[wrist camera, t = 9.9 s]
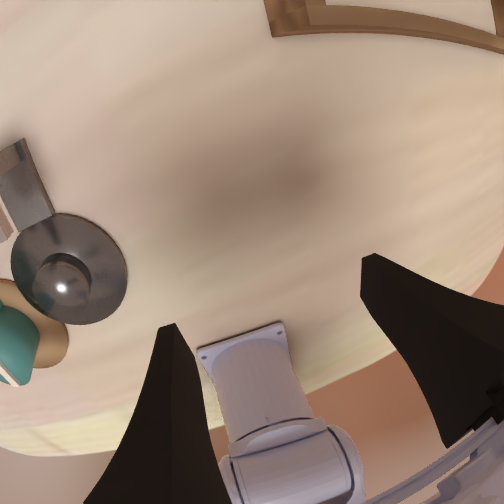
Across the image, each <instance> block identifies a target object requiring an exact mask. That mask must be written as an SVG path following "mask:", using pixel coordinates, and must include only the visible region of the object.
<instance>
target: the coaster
mask: <svg viewBox="0 0 504 504" xmlns="http://www.w3.org/2000/svg"><path fill="white" fill-rule="evenodd" d="M22 294H23V293H22ZM22 294H21V292H20V290H19V289H18V288H17V285H16V283H15V282H13V281H9V280H3V279H0V300H1V301H2V303H3V305H5V306H10V307H13V308H15V309H18V310H19V311H21V312H23V313H24V314H25V315H27V316H28V317H29V318H30V319H31V320H32V321H33V322H34V324H35V325H36V327H37V329H38V331H39V334H40V342H39V345H38V349H37V353H36V357H35V361H34V365H33V368H48V367H52V366H54V365H56V364H58V363H59V362H61V361H62V359H63V358H64V357H65V355H66V352H67V347H68V333H67V329H66V327H65V324H64V323H62V322H59V321H56V320H54V319H51V318H49V317H47V316H45V315H43V314H42V313H40V312H39V311H37V310H36V309H35V308H34V307H32V306H31V305H30V304H29V303H28V302H27V301H26V299H25V298H24V297H23V295H22ZM27 295H28V294H27ZM29 297H30V296H29ZM30 298H31V297H30ZM31 299H33V298H31ZM35 302H36V303H37V301H35V300H34V303H35ZM37 304H38V303H37ZM39 306H40V305H39ZM43 311H44V310H43ZM45 312H46V311H45ZM46 313H47V312H46ZM51 317H52V316H51ZM53 318H54V317H53Z"/></svg>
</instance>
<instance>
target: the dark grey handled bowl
mask: <svg viewBox="0 0 504 504" xmlns="http://www.w3.org/2000/svg"><path fill="white" fill-rule="evenodd" d="M0 195H1V198H2V200H3V202H4V204H5V206H6V208H7V210H8V212H9V214H10V216H11V218H12V220H13V222H14V224H15V226H16V228H17V230H18V232H20V231H22V232H21V233H20V234H19V236H18V237H17V239H16V241H15V243H14V246H13V248H12V253H11V270H12V275H13V278H14V281H15V283H16V285H17V288H18V289H19V290H20V292H21V294H22V293H23V294H22V295H23V297H24V298H25V299H26V301H27V302H28V303H29V304H30V305H31V306H32V307H34V308H35V309H36V310H37V311H39V312H40V313H42V314H43V315H45V316H47V317H49V318H51V319H54V320H56V321H59V322H62V323H66V324H73V325H85V324H92V323H96V322H98V321H101V320H103V319H105V318H107V317H108V316H110V315H111V314H113V313H114V312H115V311H116V310H117V308H118V307H119V306H120V304H121V302H122V300H123V298H124V295H125V292H126V286H127V269H126V265H125V261H124V258H123V256H122V254H121V252H120V250H119V248H118V246H117V245H116V244H115V242H114V241H113V240H112V238H111V237H110V236H109V235H108V234H107V233H106V232H104V231H103V230H102V229H101V228H100V227H98V226H96V225H95V224H93V223H92V222H90V221H88V220H86V219H83V218H81V217H78V216H74V215H69V214H53V213H54V212H55V211H54V209H53V207H52V205H51V202H50V200H49V198H48V196H47V194H46V192H45V189H44V187H43V185H42V182H41V180H40V178H39V175H38V173H37V171H36V168H35V166H34V163H33V161H32V158H31V156H30V153H29V150H28V148H27V145H26V142H25V139H24V138H23V139H21V140H20V141H18V142H16V143H14V144H13V145H11V146H9V147H7V148H5V149H4V150H2V151H0ZM13 232H14V231H13V229H12V227H11V225H10V223H9V222H8V220H7V218H6V216H5V214H4V212H3V210H2V207H1V205H0V243H2V242H4V241H6V240H8V238H9V237H10V236H11V234H12V233H13ZM27 294H28V295H27ZM29 296H30V297H31V298H33V299H31V298H30V297H29ZM34 300H35V301H37V303H38V304H37V303H36V302H35V303H34ZM39 305H40V306H39ZM43 310H44V311H43ZM45 311H46V312H47V313H46V312H45ZM51 316H52V317H51ZM53 317H54V318H53Z"/></svg>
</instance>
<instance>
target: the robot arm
mask: <svg viewBox="0 0 504 504" xmlns="http://www.w3.org/2000/svg"><path fill="white" fill-rule="evenodd" d="M360 297H361V299H362V301H363V302H364V304H365V306H366V308H367V309H368V311H369V313H370V314H371V316H372V317H373V319H374V320H375V321H376V323H377V324H378V325H379V327H380V328H381V329H382V331H383V332H384V333H385V334H386V336H387V337H388V338H389V340H390V341H391V342H392V344H393V345H394V346H395V348H396V349H397V350H398V351H399V353H400V354H401V355H402V357H403V358H404V360H405V361H406V363H407V364H408V366H409V368H410V370H411V372H412V373H413V375H414V377H415V379H416V380H417V382H418V384H419V386H420V388H421V390H422V392H423V394H424V396H425V398H426V401H427V403H428V405H429V407H430V409H431V412H432V414H433V417H434V419H435V422H436V425H437V428H438V430H439V433H440V436H441V439H442V442H443V443H444V445H445V447H446V448H449V447H450V446H452V445H453V444H454V443H456V442H457V441H458V440H460V439H461V438H462V437H464V436H465V435H466V434H467V433H469V432H470V431H471V430H472V429H473V430H474V431H475V432H474V433H472V434H471V435H470V436H469V437H467V438H466V439H465V440H464V441H462V442H461V443H460V444H458V445H457V446H456V447H455V448H453V449H452V450H450V451H449V452H448V453H446V454H445V455H444V456H442V457H441V458H439V459H438V460H437V461H435V462H433V463H432V464H431V465H429V466H427V467H426V468H424V469H423V470H421V471H420V472H418V473H416V474H415V475H413V476H411V477H410V478H408V479H406V480H405V481H403V482H401V483H400V484H398V485H396V486H394V487H392V488H390V489H389V490H387V491H385V492H383V493H381V494H379V495H377V496H375V497H373V498H371V499H369V500H367V501H365V497H366V494H365V490H364V485H363V465H362V461H361V457H360V455H359V452H358V450H357V448H356V445H355V444H354V442H353V440H352V439H351V437H350V436H349V434H348V433H347V432H346V431H345V430H343V429H341V428H339V427H338V426H336V425H334V424H331V425H327V426H326V424H325V422H324V420H323V418H322V417H318V418H315V416H314V414H313V411H312V409H311V407H310V405H309V403H308V401H307V398H306V396H305V394H304V392H303V390H302V388H301V385H300V383H299V381H298V379H297V377H296V374H295V372H294V370H293V368H292V365H291V360H290V354H289V349H288V344H287V339H286V334H285V328H284V326H283V324H282V323H275V324H272V325H270V326H267V327H264V328H261V329H258V330H255V331H252V332H249V333H246V334H243V335H240V336H237V337H234V338H231V339H228V340H225V341H222V342H219V343H216V344H212V345H209V346H206V347H203V348H200V349H198V350H197V351H196V354H197V357H198V358H199V360H200V362H201V363H202V365H203V367H204V368H205V370H206V372H207V373H208V375H209V377H210V378H211V380H212V381H213V383H214V385H215V388H216V392H217V396H218V400H219V404H220V408H221V412H222V416H223V419H224V423H225V427H226V431H227V434H228V438H229V442H230V443H229V444H228V447H229V451H230V455H231V457H230V455H225V456H223V457H222V459H221V461H220V462H219V464H217V460H216V457H215V454H214V451H213V447H212V444H211V440H210V436H209V431H208V425H207V419H206V412H205V406H204V399H203V393H202V386H201V380H200V376H199V372H198V368H197V364H196V361H195V357H194V355H193V353H192V351H191V350H190V348H189V346H188V345H187V343H186V341H185V339H184V338H183V336H182V334H181V333H180V331H179V329H178V327H177V325H176V324H175V323H173V324H170V325H166V326H163V327H160V328H159V329H158V332H157V336H156V340H155V344H154V348H153V352H152V356H151V360H150V363H149V367H148V370H147V374H146V377H145V381H144V384H143V387H142V390H141V393H140V396H139V399H138V402H137V405H136V407H135V410H134V413H133V415H132V418H131V420H130V423H129V425H128V427H127V430H126V432H125V434H124V436H123V438H122V440H121V442H120V445H119V447H118V449H117V450H116V452H115V454H114V456H113V458H112V459H111V462H110V463H109V465H108V466H107V468H106V470H105V472H104V473H103V475H102V477H101V478H100V480H99V481H98V482H97V484H96V485H95V487H94V488H93V490H92V491H91V493H90V494H89V495H88V497H87V498H86V499H85V501H84V502H83V504H397V503H399V502H401V501H402V500H404V499H406V498H407V497H409V496H411V495H413V494H414V493H416V492H418V491H419V490H421V489H422V488H424V487H425V486H427V485H429V484H430V483H432V482H433V481H435V480H436V479H438V478H439V477H441V476H442V475H443V474H445V473H446V472H448V471H449V470H450V469H452V468H453V467H454V466H456V465H457V464H458V463H460V462H461V461H462V460H464V459H465V458H466V457H467V456H469V455H470V454H471V455H470V460H469V461H468V462H467V463H466V464H464V465H463V466H461V467H460V468H458V469H457V470H455V471H454V472H452V473H451V474H450V475H448V476H447V477H446V478H445V479H443V480H442V481H441V482H439V483H438V484H437V488H438V490H439V492H438V493H437V494H435V495H434V496H432V497H430V498H429V499H427V500H425V501H424V502H422V503H420V504H504V305H499V304H495V303H491V302H487V301H483V300H480V299H477V298H473V297H470V296H468V295H465V294H462V293H459V292H457V291H454V290H452V289H449V288H447V287H444V286H442V285H440V284H438V283H435V282H433V281H431V280H429V279H427V278H425V277H423V276H420V275H418V274H416V273H414V272H412V271H410V270H408V269H406V268H405V267H403V266H401V265H399V264H397V263H395V262H393V261H391V260H389V259H387V258H385V257H383V256H380V255H378V254H376V253H374V254H371V255H368V256H366V257H363V258H362V268H361V290H360ZM278 331H279V332H278Z"/></svg>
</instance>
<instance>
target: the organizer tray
mask: <svg viewBox="0 0 504 504" xmlns="http://www.w3.org/2000/svg"><path fill="white" fill-rule="evenodd" d="M491 3H492V8H493V14H494V19H495V25H496V32H497V36H496V35H494V34H491V33H488V32H485V31H482V30H479V29H476V28H472V27H469V26H466V25H462V24H459V23H455V22H451V21H447V20H443V19H439V18H434V17H430V16H425V15H420V14H414V13H409V12H402V11H395V10H388V9H379V8H369V7H357V6H335V5H326V2H325V0H264V4H265V8H266V12H267V16H268V20H269V25H270V29H271V34H272V37H280V36H290V35H301V34H317V33H380V34H395V35H406V36H415V37H423V38H431V39H437V40H443V41H449V42H454V43H460V44H464V45H469V46H473V47H478V48H482V49H486V50H489V51H493V52H497V53H500V54H504V0H491Z"/></svg>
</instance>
